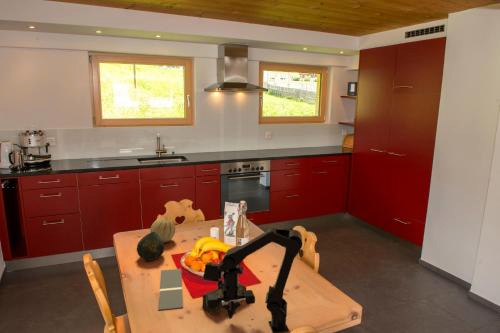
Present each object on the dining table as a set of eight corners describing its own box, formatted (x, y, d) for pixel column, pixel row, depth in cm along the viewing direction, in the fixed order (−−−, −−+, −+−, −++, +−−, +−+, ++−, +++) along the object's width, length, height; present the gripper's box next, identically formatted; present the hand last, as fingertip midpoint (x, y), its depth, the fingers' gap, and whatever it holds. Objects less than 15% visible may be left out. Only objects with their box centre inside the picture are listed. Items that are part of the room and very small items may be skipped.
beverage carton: (247, 299, 151) (247, 285, 150) (213, 317, 138) (213, 302, 137) (235, 291, 157) (235, 278, 155) (201, 308, 143) (201, 294, 142)
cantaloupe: (145, 244, 205) (145, 220, 202) (159, 235, 219) (158, 213, 216) (167, 248, 201) (167, 223, 198) (179, 238, 214) (179, 216, 212)
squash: (130, 255, 177) (150, 233, 178) (132, 245, 192) (150, 224, 193) (152, 270, 182) (171, 248, 183) (152, 259, 196) (169, 239, 197)
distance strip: (182, 307, 143) (182, 306, 143) (158, 310, 141) (158, 309, 140) (181, 269, 175) (181, 268, 175) (161, 271, 173) (161, 270, 173)
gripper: (249, 270, 141) (248, 304, 144) (204, 273, 137) (204, 308, 140) (256, 283, 131) (254, 320, 134) (207, 288, 126) (207, 325, 129)
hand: (230, 318), depth 134 cm, fingers closed
